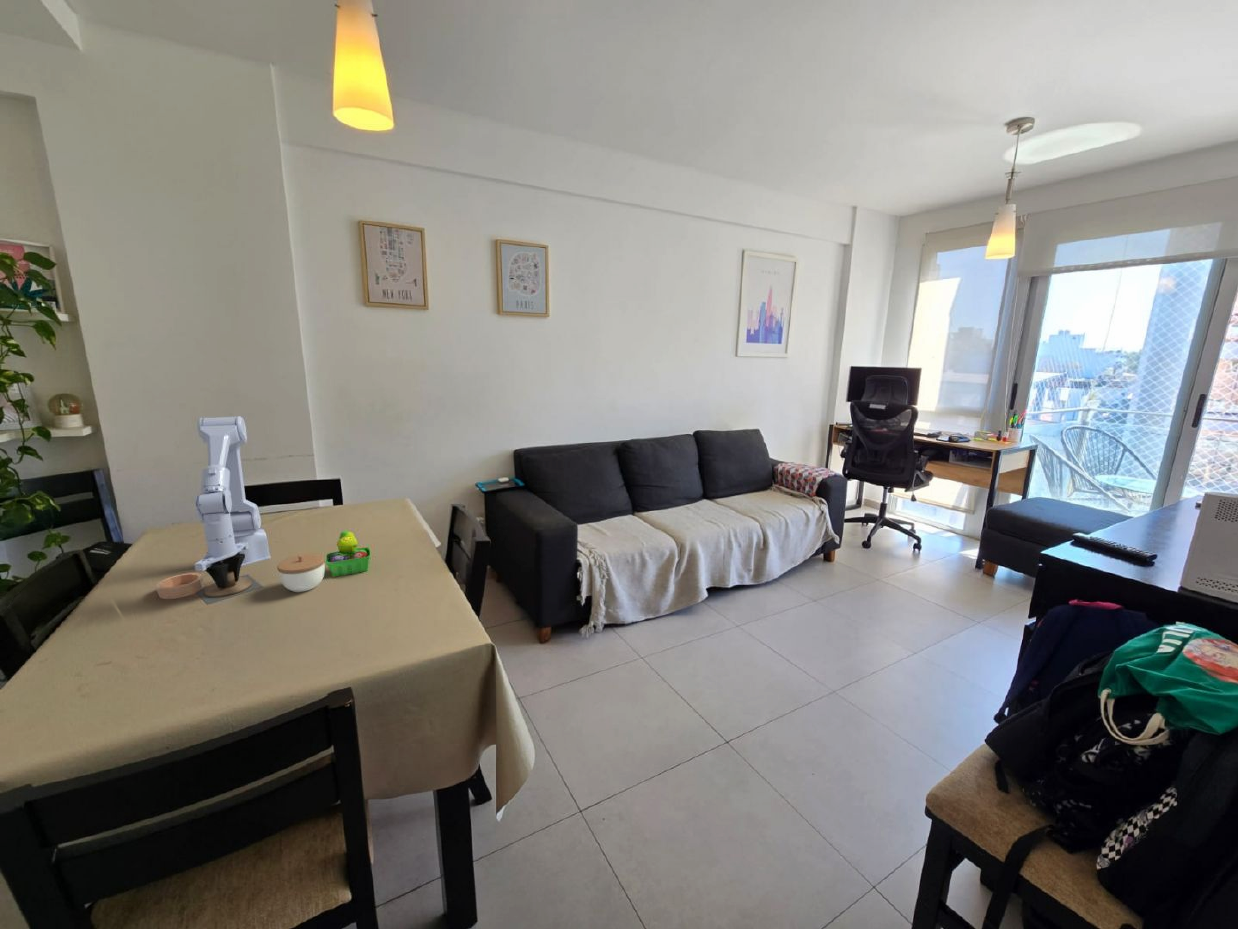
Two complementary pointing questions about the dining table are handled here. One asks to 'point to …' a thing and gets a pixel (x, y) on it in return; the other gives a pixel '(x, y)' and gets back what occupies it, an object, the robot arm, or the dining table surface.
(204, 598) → the mat
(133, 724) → the dining table surface
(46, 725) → the dining table surface
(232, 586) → the lid
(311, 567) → the lidded jar
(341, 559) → the fruit basket
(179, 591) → the bowl
